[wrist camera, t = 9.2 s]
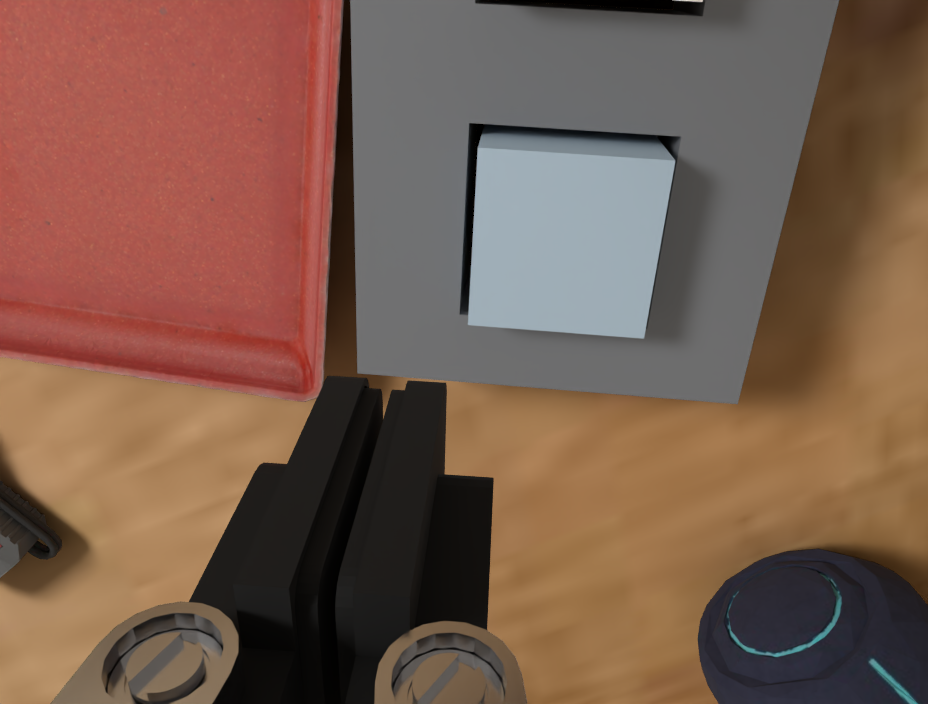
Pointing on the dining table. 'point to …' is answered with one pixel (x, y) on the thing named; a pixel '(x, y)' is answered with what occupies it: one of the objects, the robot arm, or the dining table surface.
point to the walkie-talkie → (23, 531)
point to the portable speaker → (815, 634)
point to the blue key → (567, 229)
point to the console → (592, 109)
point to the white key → (691, 0)
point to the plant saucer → (169, 188)
